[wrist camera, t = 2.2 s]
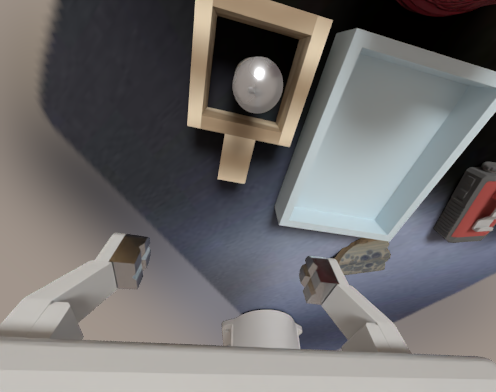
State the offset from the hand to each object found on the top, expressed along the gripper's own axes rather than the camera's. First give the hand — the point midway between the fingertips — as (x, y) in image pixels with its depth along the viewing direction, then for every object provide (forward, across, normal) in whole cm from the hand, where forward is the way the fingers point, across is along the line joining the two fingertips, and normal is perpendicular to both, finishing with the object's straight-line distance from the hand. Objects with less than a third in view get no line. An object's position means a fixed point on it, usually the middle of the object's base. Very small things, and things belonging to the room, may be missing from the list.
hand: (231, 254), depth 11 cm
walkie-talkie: (+17, -35, -2) cm, 39 cm away
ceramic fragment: (+17, -24, +15) cm, 33 cm away
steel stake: (+16, 0, -7) cm, 18 cm away
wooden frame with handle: (+16, 0, -5) cm, 17 cm away
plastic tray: (+16, -15, -2) cm, 22 cm away
